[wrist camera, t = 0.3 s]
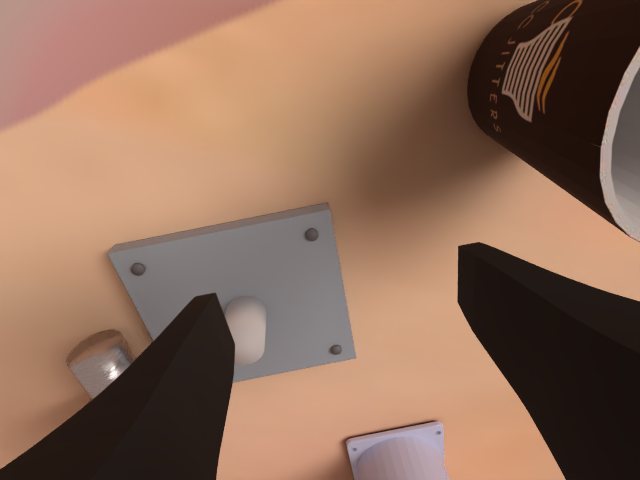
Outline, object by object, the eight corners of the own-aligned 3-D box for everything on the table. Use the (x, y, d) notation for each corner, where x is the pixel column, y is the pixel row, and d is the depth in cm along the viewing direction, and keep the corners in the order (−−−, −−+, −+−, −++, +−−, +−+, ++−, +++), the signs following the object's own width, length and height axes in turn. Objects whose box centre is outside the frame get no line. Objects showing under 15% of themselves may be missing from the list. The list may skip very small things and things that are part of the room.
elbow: (199, 419, 27) (178, 509, 22) (130, 433, 27) (92, 525, 22) (148, 321, 23) (106, 404, 17) (65, 338, 23) (-2, 425, 17)
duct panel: (353, 347, 25) (365, 395, 22) (184, 380, 25) (168, 434, 22) (327, 202, 20) (337, 234, 16) (115, 245, 20) (78, 286, 16)
